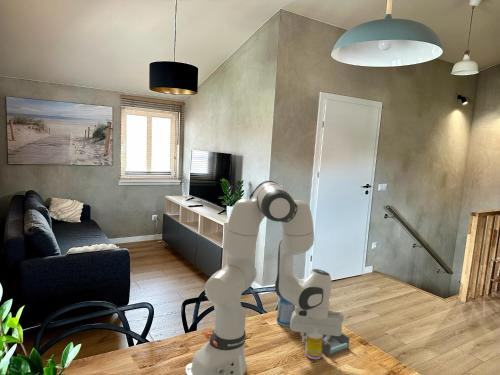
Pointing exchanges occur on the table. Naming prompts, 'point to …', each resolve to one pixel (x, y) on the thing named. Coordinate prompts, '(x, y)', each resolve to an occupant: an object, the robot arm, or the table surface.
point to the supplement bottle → (314, 344)
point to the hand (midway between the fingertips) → (314, 342)
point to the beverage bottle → (284, 312)
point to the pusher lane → (335, 344)
